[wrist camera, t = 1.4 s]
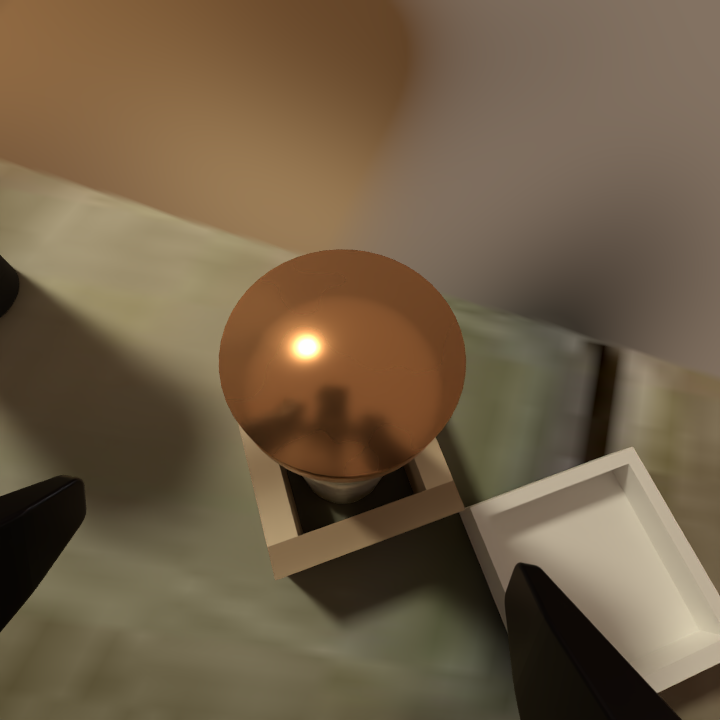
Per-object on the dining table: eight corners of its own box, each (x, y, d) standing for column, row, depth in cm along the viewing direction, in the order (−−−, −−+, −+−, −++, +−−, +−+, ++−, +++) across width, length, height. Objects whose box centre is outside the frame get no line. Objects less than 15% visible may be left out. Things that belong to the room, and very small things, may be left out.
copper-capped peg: (409, 494, 20) (507, 427, 8) (307, 530, 19) (250, 515, 7) (374, 398, 22) (412, 227, 10) (279, 427, 21) (197, 281, 9)
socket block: (448, 514, 20) (465, 509, 17) (285, 574, 19) (275, 580, 16) (390, 366, 23) (396, 342, 20) (245, 410, 21) (230, 391, 19)
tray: (708, 637, 18) (749, 648, 16) (541, 716, 17) (565, 737, 15) (607, 454, 21) (632, 446, 19) (457, 510, 20) (469, 507, 18)
